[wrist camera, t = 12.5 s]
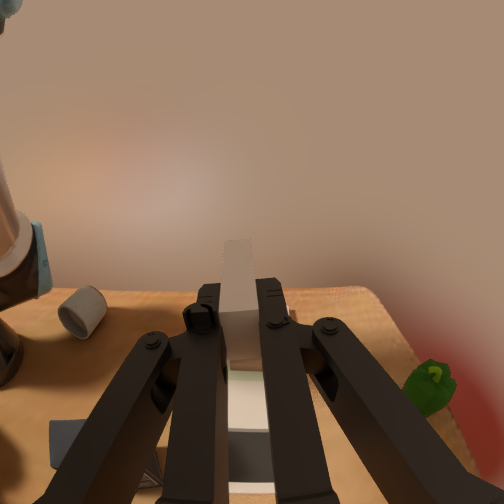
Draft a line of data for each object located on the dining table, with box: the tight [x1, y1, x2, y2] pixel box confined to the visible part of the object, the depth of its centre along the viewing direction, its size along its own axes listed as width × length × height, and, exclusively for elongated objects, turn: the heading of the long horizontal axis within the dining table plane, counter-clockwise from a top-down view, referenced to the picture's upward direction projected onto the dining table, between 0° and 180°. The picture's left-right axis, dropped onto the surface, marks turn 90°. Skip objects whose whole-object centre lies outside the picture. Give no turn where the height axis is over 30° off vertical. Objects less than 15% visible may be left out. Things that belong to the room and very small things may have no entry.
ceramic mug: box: [58, 286, 107, 339], centre depth 44 cm, size 11×8×8 cm
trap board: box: [227, 306, 289, 495], centre depth 38 cm, size 35×14×2 cm, turn 0°
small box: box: [49, 419, 164, 489], centre depth 21 cm, size 11×6×10 cm, turn 112°
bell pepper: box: [402, 359, 456, 418], centre depth 31 cm, size 8×8×10 cm
